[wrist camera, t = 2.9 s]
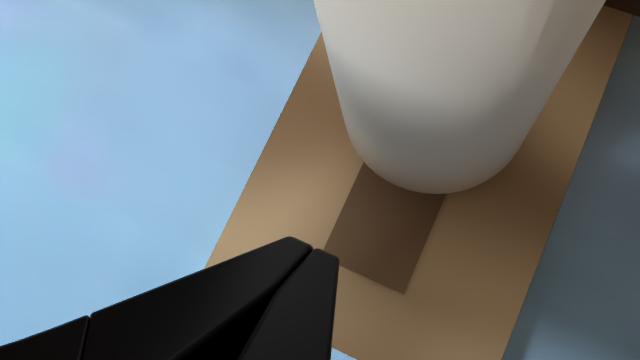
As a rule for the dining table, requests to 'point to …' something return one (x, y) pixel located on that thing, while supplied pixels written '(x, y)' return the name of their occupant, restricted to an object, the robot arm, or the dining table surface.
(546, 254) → the dining table surface
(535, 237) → the level stand
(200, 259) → the dining table surface
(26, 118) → the dining table surface
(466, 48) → the post
